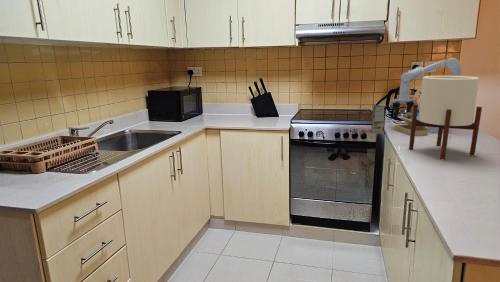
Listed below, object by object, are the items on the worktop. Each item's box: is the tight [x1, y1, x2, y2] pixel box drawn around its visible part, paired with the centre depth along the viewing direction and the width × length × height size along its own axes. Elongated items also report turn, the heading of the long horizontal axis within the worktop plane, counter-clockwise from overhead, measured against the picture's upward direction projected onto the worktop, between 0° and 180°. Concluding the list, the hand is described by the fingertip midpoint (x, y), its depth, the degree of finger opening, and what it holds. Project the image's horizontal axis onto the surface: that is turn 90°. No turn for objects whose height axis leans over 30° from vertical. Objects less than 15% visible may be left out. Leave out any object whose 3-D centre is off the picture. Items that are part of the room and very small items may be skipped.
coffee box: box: [371, 104, 387, 135], centre depth 208 cm, size 9×6×16 cm
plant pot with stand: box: [408, 75, 483, 160], centre depth 162 cm, size 22×22×36 cm
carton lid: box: [397, 112, 429, 130], centre depth 206 cm, size 10×18×5 cm
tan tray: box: [393, 123, 429, 137], centre depth 207 cm, size 10×18×3 cm, turn 11°
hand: (402, 113), depth 217 cm, fingers open, 7 cm apart
